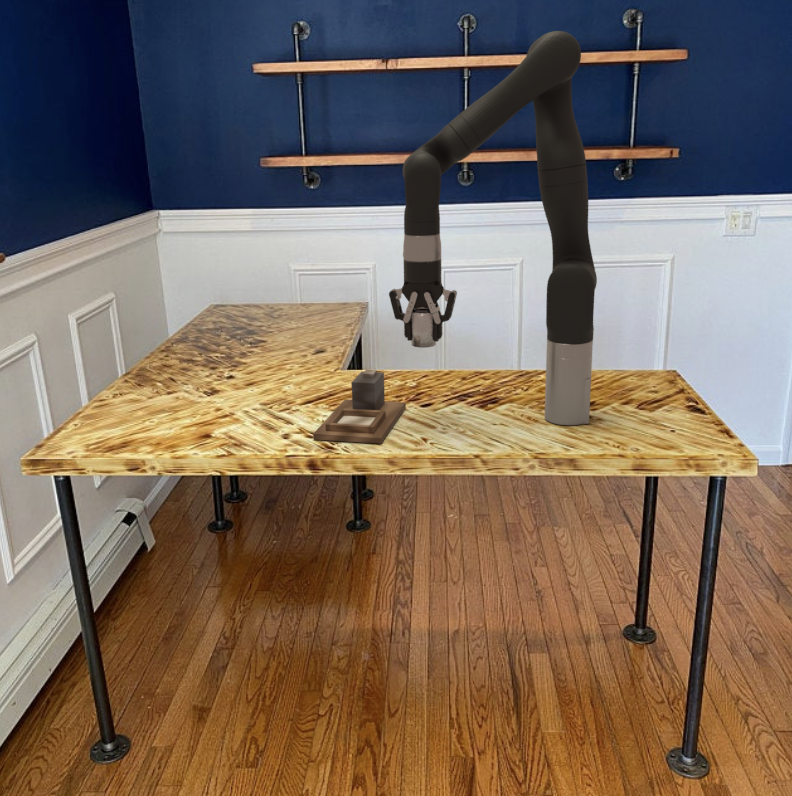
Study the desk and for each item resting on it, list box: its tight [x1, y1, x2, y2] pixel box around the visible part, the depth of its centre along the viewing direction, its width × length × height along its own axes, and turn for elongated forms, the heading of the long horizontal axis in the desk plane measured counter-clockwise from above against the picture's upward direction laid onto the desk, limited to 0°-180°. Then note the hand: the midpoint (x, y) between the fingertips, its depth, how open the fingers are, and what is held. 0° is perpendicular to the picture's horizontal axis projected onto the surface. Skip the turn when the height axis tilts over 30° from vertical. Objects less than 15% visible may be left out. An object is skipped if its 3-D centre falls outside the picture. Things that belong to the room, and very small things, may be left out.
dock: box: [312, 369, 407, 444], centre depth 173 cm, size 14×22×9 cm, turn 167°
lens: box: [410, 307, 437, 349], centre depth 168 cm, size 5×5×8 cm
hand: (423, 339), depth 169 cm, fingers closed on lens, 5 cm apart
